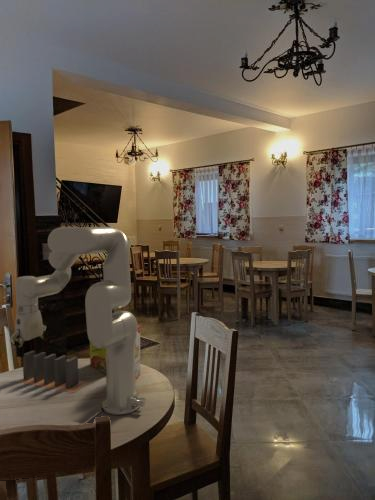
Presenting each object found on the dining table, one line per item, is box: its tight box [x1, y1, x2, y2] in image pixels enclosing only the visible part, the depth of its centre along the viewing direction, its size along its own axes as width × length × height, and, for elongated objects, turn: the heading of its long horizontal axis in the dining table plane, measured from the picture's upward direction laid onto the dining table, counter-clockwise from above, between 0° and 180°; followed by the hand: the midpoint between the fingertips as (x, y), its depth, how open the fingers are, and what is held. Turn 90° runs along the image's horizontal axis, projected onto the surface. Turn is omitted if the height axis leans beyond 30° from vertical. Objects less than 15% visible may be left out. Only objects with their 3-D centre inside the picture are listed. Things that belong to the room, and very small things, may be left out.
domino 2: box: [33, 351, 47, 383], centre depth 146 cm, size 2×5×10 cm, turn 158°
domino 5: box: [65, 356, 79, 389], centre depth 140 cm, size 2×5×10 cm, turn 158°
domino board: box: [17, 377, 89, 394], centre depth 144 cm, size 26×9×1 cm, turn 68°
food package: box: [89, 342, 107, 374], centre depth 156 cm, size 15×1×20 cm, turn 42°
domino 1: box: [22, 350, 37, 381], centre depth 148 cm, size 2×5×10 cm, turn 158°
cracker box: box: [135, 325, 141, 382], centre depth 144 cm, size 14×6×21 cm, turn 168°
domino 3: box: [43, 353, 57, 385], centre depth 144 cm, size 2×5×10 cm, turn 158°
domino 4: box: [54, 354, 68, 387], centre depth 142 cm, size 2×5×10 cm, turn 158°
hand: (30, 352), depth 147 cm, fingers open, 9 cm apart
